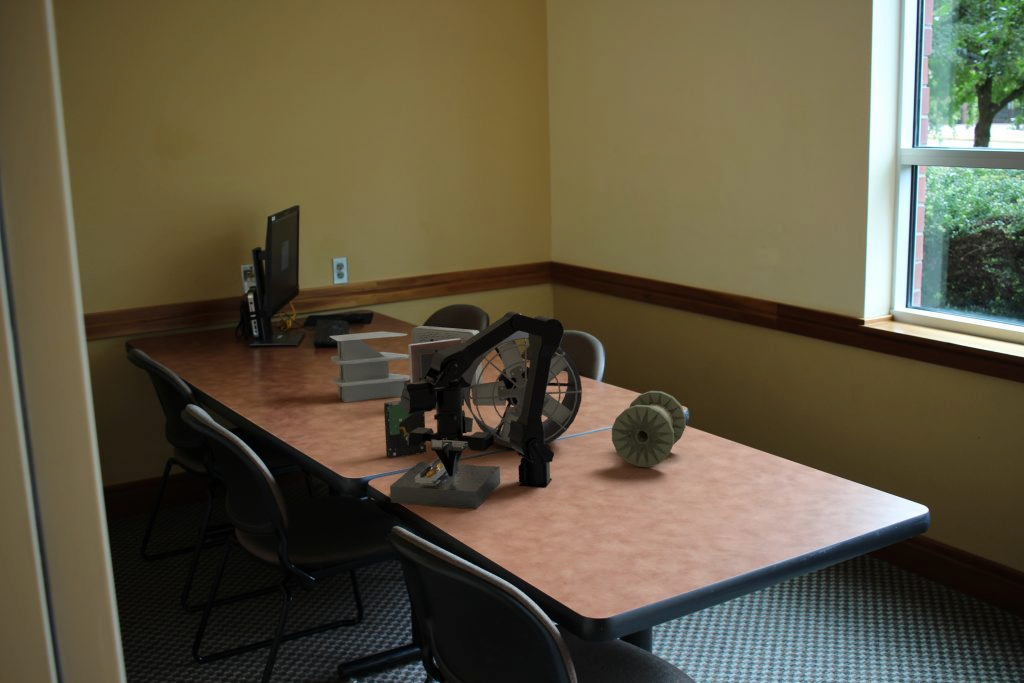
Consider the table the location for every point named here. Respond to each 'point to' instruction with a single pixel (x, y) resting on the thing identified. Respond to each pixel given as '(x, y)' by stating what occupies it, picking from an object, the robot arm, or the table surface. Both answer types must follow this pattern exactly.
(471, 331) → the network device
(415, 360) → the picture frame
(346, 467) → the table surface
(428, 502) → the grey flat block
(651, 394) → the spool
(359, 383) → the file organizer
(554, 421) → the ventilation fan
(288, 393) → the table surface
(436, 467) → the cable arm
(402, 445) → the disk drive
